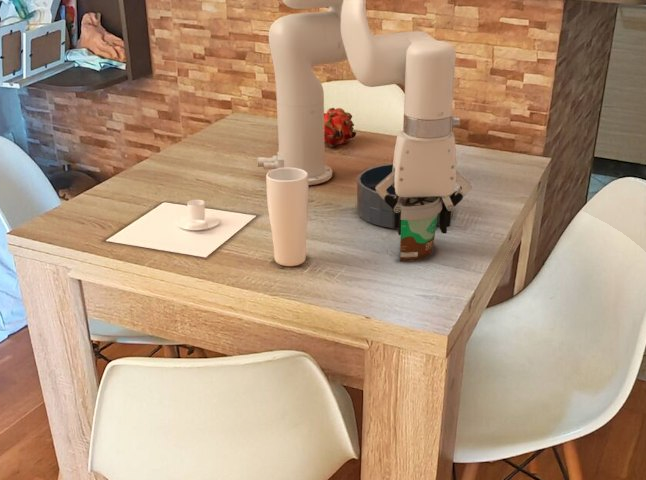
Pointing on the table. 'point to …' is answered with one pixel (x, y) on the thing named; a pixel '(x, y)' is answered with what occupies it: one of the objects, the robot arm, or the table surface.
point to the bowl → (376, 197)
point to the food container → (418, 227)
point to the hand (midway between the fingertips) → (421, 230)
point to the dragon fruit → (337, 127)
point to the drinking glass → (288, 213)
